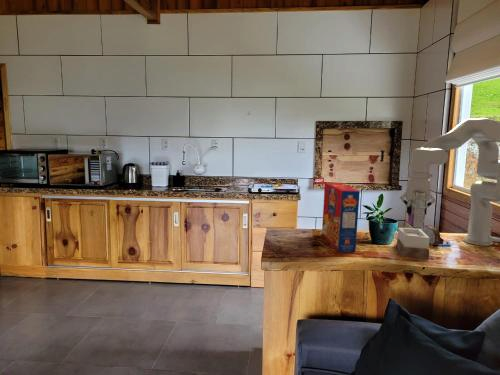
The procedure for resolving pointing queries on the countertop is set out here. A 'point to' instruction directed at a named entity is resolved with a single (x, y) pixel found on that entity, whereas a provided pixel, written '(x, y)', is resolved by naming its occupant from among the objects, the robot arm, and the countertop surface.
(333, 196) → the cereal box
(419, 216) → the candy bar box
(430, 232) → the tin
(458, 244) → the countertop surface
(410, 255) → the tower base
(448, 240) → the countertop surface
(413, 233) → the tower top
